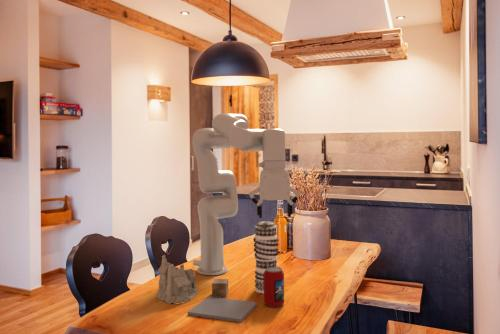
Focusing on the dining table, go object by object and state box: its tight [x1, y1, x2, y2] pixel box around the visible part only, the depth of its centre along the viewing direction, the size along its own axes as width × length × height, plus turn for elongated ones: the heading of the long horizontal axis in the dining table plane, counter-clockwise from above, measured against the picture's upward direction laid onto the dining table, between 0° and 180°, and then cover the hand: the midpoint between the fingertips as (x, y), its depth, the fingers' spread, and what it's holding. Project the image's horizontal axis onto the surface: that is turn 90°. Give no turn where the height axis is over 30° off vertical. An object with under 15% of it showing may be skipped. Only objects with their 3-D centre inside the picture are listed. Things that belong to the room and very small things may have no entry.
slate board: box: [187, 295, 258, 323], centre depth 144 cm, size 18×15×1 cm
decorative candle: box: [253, 220, 280, 295], centre depth 163 cm, size 9×9×25 cm
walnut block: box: [211, 278, 229, 298], centre depth 159 cm, size 5×5×5 cm
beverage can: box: [263, 266, 285, 308], centre depth 148 cm, size 7×7×12 cm
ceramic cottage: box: [156, 254, 199, 304], centre depth 159 cm, size 16×16×15 cm
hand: (274, 217), depth 149 cm, fingers open, 9 cm apart
